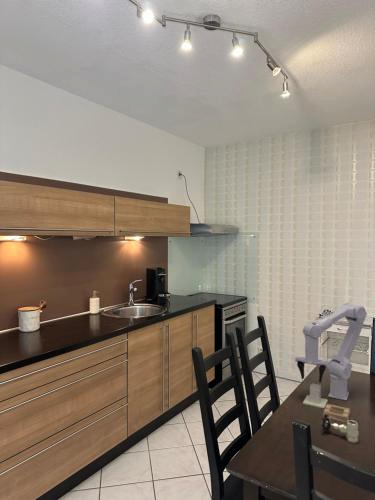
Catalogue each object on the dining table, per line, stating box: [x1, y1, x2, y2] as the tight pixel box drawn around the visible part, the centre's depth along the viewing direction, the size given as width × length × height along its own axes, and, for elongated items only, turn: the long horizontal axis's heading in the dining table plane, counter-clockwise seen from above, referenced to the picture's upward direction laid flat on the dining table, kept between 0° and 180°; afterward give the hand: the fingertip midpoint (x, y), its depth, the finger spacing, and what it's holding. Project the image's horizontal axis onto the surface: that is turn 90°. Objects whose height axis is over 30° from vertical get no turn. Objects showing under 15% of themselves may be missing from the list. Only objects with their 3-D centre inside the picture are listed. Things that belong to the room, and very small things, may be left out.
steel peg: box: [309, 382, 322, 404], centre depth 157 cm, size 4×4×7 cm
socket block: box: [323, 403, 351, 424], centre depth 146 cm, size 9×9×2 cm
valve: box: [321, 414, 359, 444], centre depth 129 cm, size 7×7×12 cm
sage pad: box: [302, 394, 329, 409], centre depth 158 cm, size 9×9×1 cm
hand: (311, 380), depth 159 cm, fingers open, 7 cm apart
